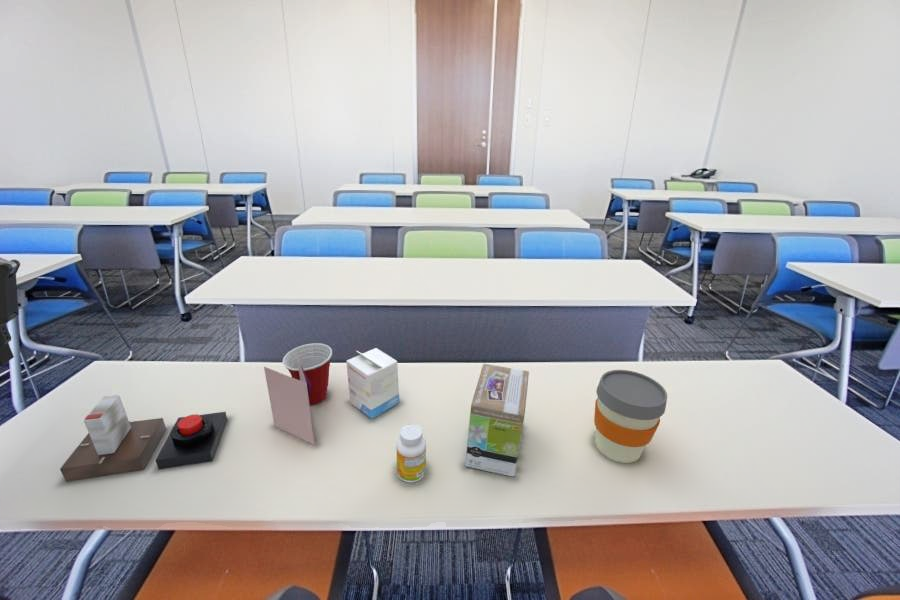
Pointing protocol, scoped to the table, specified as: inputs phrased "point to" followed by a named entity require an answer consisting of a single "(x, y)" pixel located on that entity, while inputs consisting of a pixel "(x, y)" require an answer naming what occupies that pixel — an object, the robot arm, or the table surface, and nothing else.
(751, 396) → the table surface
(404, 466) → the supplement bottle
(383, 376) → the ink box
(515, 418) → the tea box
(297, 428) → the greeting card
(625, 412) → the reusable coffee cup
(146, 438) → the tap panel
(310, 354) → the plastic cup
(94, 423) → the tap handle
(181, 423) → the button
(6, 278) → the robot arm
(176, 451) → the button block
